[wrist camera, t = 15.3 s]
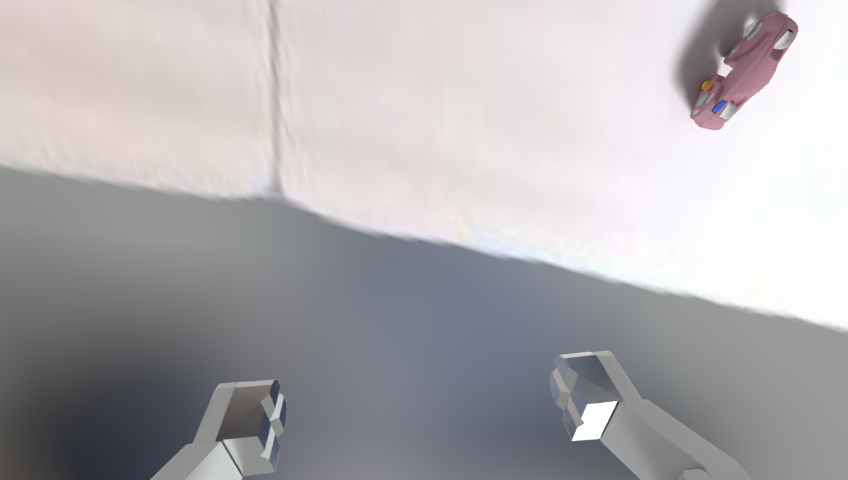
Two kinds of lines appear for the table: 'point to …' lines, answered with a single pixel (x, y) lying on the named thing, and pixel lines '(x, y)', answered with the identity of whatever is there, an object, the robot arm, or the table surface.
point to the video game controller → (745, 70)
